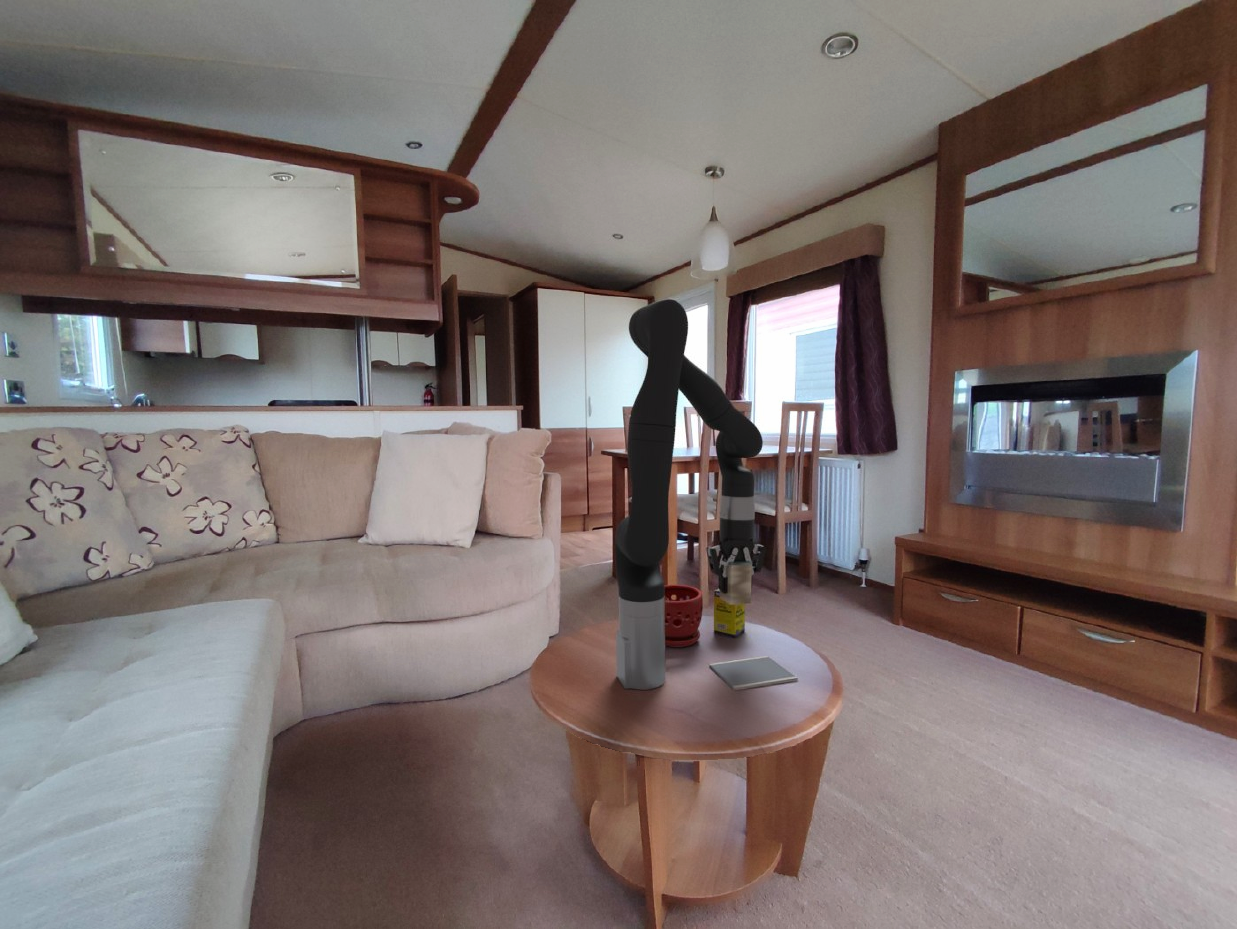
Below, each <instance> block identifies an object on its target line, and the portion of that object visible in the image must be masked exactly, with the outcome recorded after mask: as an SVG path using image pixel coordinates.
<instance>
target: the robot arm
mask: <svg viewBox="0 0 1237 929" xmlns="http://www.w3.org/2000/svg"><path fill="white" fill-rule="evenodd" d="M628 332H629V335H630V339H631V340H632V342H633V343H634V344H635V346H636V347H637V348H638V350H640V351H641V352H642V353H643V354H644V356H646V358H647V367H646V370H645V371H646V372H645V375H644V379H643V381H642V384H641V387H640V389H639V390H638V393H637V395H636V398H635V400H634V403H632V404H633V405H632V407H631V411H630V414H629V418H628V419H629V421H628V432H627V440H626V441H627V442H626V443H627V444H626V446H627V447H626V450H627V463H628V469H629V470H628V471H629V476H630V483H631V501H630V502H631V503H630V508H629V509H630V510H629V515H628V516H626V517H624V518H623V519H622V520H621V521H620V523H619V524H618V525H617V528H616V530H615V538H614V553H615V555H614V556H615V575H616V581H617V587H618V629H617V630H616V632H615V633H616V634H615V635H616V636H615V638H616V643H615V644H616V647H615V648H616V676H617V678H618V680H619V681H620V683H621V684H622V687H623V688H624V689H634V690H652V689H656V688H659V687H661V686H662V685H663V684H664V683H665V681H666V645H665V600H666V597H665V586H664V585H665V581H664V579H663V576H662V572H661V567H660V562H661V561H662V559H663V558H664V557H665V555H666V553H667V551H668V549H669V544H670V543H669V541H670V524H669V519H670V518H669V495H670V486H671V478H672V477H671V475H672V467H673V465H672V464H673V456H674V447H675V441H676V440H675V438H676V429H677V428H676V426H677V412H678V411H677V409H678V402H679V401H678V400H679V393H680V392H681V394H683V396H684V397H685V398H686V399H687V400H688V402H689V403H690V405H691V406H692V408H693V410H695V411H696V413H697V414H698V416H699V417H700V418H701V420H702V421H703V422H704V424H705V425H706V426H707V427H708V428H709V429H711V430H714V431H718V434H717V436H716V439H715V454H716V457H717V461H718V462H717V463H718V467H719V471H720V474H721V475H720V476H721V497H720V504H719V532H718V533H719V534H718V535H719V541H718V544H717V545H714V546H712V547H711V546H710V545H709V546H707V547H706V548H705V550H706V555H707V559H708V560H707V561H708V563H709V564H708V565H709V566H708V567H709V570H710V572H712V573H713V574H715V575H717V576H718V579H717V580H718V584H717V585H718V586H717V587H718V588H717V589H719V590H720V591H721V592H722V593H723V594H727V592H728V577H727V575H728V568H729V565H730V563H733V562H738V561H739V562H740V561H745V562H752V576H751V590H752V588H753V576H754V574H756V573H761V571H762V569H763V568H762V567H763V564H764V560H765V555H766V550H767V547H766V546H764V545H763V544H759V543H756V544H755V542H754V536H755V514H756V513H755V510H756V507H755V506H756V505H755V497H754V496H755V475H754V472H753V471H751V470H750V469H747V468H745V467H744V464H743V460H742V459H752V458H755V457H756V456H758V455H759V454H760V453H761V451H762V450H763V449H762V448H763V442H764V441H763V436H762V433H761V431H760V430H759V427H757V426H756V425H755V424H754V423H753V421H751V420H750V419H749V418H748V417H747V416H746V415H744V414H743V413H742V412H741V411H740V410H739V409H737V408H736V407H735V406H734V405H733V403H732V401H731V400H730V398H729V397H728V396H727V394H726V393H725V392H724V390H723V388H722V386H720V384H719V383H718V382H717V381H716V380H715V379H714V378H713V377H712V376H710V375H709V374H708V373H707V372H705V371H704V370H703V369H702V368H700V367H699V366H698V365H696V364H694V362H693V361H691V360H690V359H689V358H688V357H687V356H686V355H685V351H686V345H687V340H688V334H689V320H688V314H687V312H686V309H685V307H684V306H683V304H681V303H680V302H679V301H678V300H677V299H674V298H664V299H660V300H657V301H654V302H652V303H650V304H647V305H645V306H643V307H641V308H639V309H637V310H635V312H633V313H632V315H631V317H630V319H629V323H628ZM679 391H680V392H679ZM752 552H753V555H752V557H751V554H752ZM719 554H721V558H720V559H721V560H720V561H719V559H718V556H719ZM751 558H752V559H751ZM724 560H727V562H724Z"/></svg>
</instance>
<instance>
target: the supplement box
mask: <svg viewBox="0 0 1237 929" xmlns="http://www.w3.org/2000/svg"><path fill="white" fill-rule="evenodd" d="M745 608H746V604H734V605H730V604H728V603H727V602H725V601H723V600H722V599H720V590H719V588H716V589H713V633H714V634H717V635H721V636H725V637H730V638H737V637H738V636H739V635H741V634H742V633H744V632H745V631H746V627H745V623H746V618H745V617H746V614H745V613H746V609H745Z"/></svg>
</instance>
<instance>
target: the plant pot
mask: <svg viewBox="0 0 1237 929" xmlns="http://www.w3.org/2000/svg"><path fill="white" fill-rule="evenodd" d="M664 586H665V598H667V600H666V599H665V647H666V646H667V647H671V648H683V647H688V646H692V645H693V644H695V643H696V642H697V641H699V639H700V637H701V631H700V630H699V627H700V625H701V622H702V617H703V610H704V609H703V608H704V606H703V605H704V600H703V592H702V591H701V590H700V589H699V588H696V587H694V586H691V585H686V584H667V585H666V584H664ZM672 596H675V597H676V598H674V599H673V598H672ZM687 597H689V598H687ZM681 599H682V600H681Z"/></svg>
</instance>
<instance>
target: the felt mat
mask: <svg viewBox="0 0 1237 929" xmlns="http://www.w3.org/2000/svg"><path fill="white" fill-rule="evenodd" d="M708 664H709V667H710V669H711V670H712V671H713V672H714V673H715V674H717V675H718V677H720V678H721V679H722V680H723V681H724V682H725V683H726V684H728V686H729V687H730V688H732V690H733V691H740V690H745V689H752V688H757V687H764V686H765V687H766V686H772V685H778V684H782V683H789V682H791V683H792V682H796V681H798V679H799V678H798V677H797V676H796V675H794V674H793V673H792V672H790V671H789V670H787V669H786V668H785V667H783V666H782V665H781V664H780V663H778V662H777V661H775V660H774V659H772V658H771V657H769V656H768V655H763V656H757V657H750V658H743V659H736V660H729V661H720V662H714V663H708Z"/></svg>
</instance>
